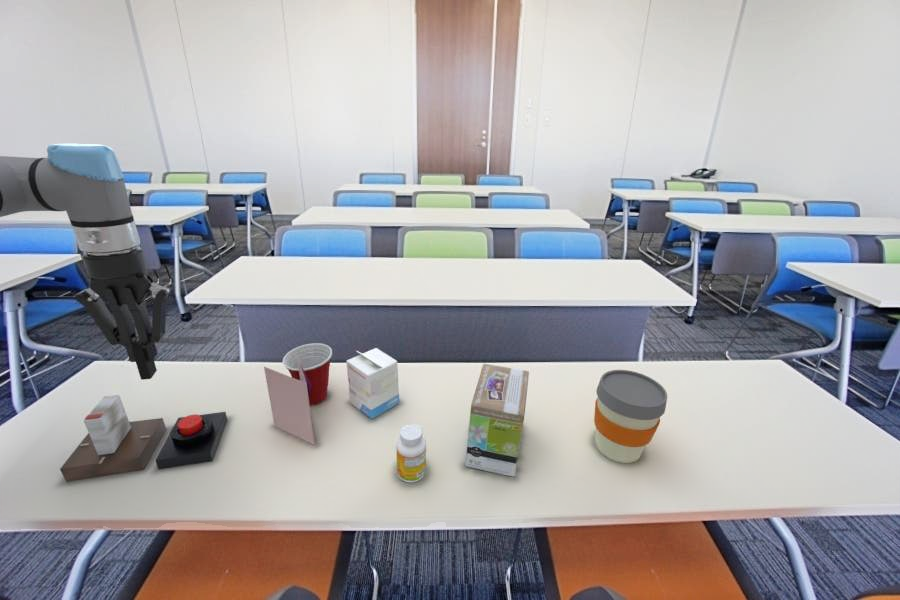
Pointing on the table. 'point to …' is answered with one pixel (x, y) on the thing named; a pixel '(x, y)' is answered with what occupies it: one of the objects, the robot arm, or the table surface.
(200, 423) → the button
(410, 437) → the supplement bottle
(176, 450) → the button block
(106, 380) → the table surface
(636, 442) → the reusable coffee cup
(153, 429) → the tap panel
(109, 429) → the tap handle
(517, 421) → the tea box
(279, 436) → the table surface
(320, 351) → the plastic cup
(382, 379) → the ink box
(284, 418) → the greeting card
